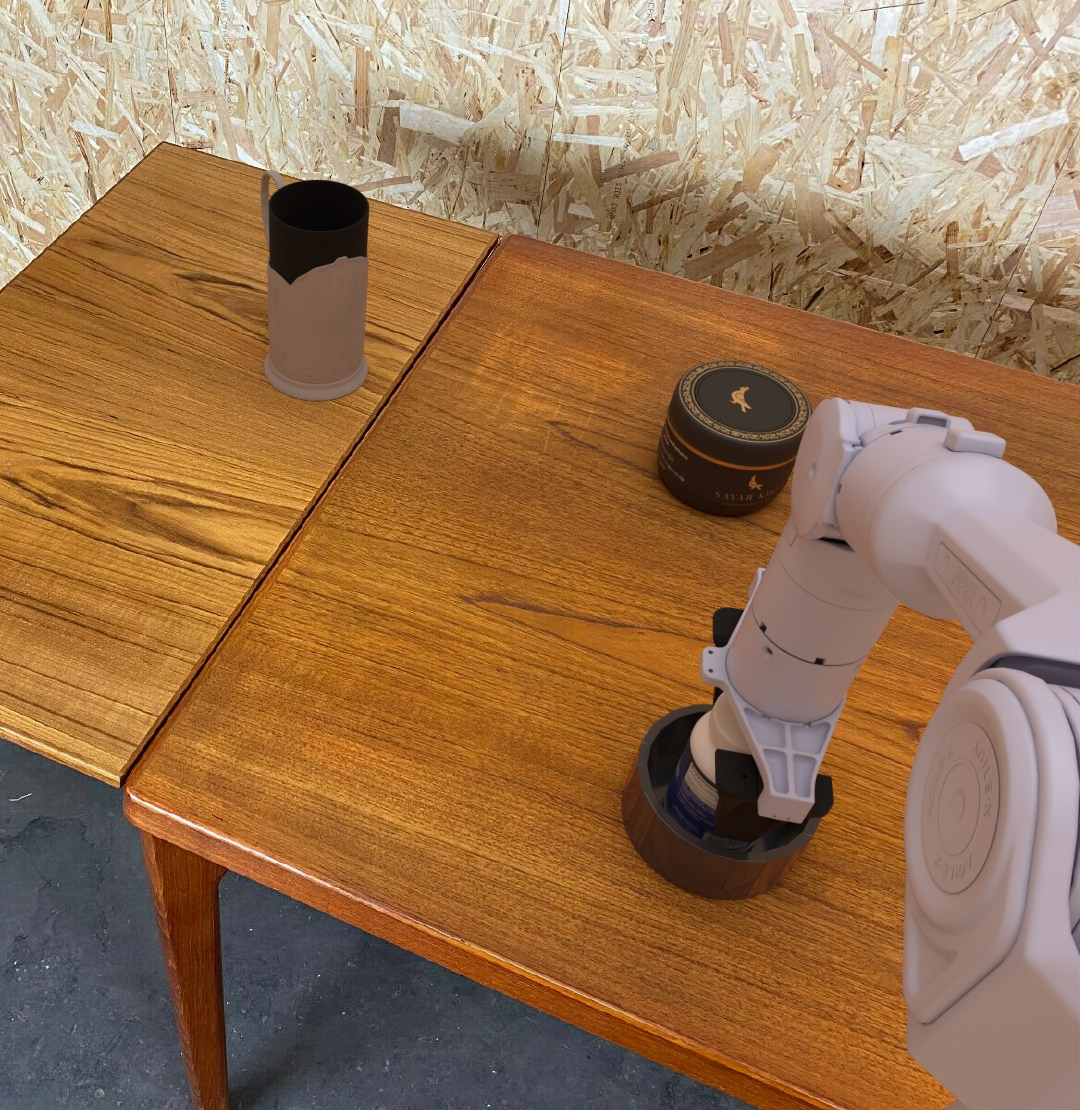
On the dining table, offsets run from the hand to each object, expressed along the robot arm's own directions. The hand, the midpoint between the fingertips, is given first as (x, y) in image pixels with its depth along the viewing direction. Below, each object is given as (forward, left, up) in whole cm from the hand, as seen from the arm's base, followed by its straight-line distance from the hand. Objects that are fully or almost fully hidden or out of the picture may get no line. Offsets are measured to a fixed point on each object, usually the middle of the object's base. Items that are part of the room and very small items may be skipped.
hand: (732, 773), depth 64 cm
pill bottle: (0, 0, -5) cm, 5 cm away
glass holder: (+50, +10, -5) cm, 51 cm away
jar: (+26, -16, -5) cm, 31 cm away
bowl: (0, 0, -5) cm, 5 cm away
